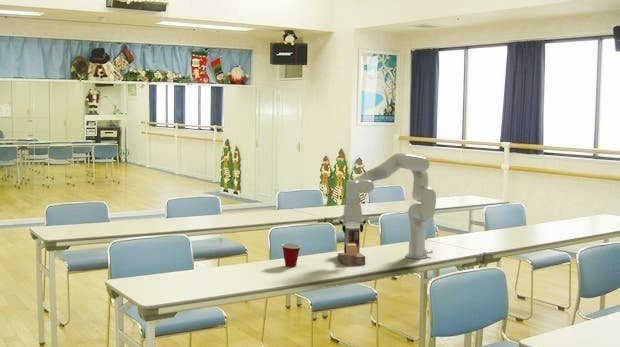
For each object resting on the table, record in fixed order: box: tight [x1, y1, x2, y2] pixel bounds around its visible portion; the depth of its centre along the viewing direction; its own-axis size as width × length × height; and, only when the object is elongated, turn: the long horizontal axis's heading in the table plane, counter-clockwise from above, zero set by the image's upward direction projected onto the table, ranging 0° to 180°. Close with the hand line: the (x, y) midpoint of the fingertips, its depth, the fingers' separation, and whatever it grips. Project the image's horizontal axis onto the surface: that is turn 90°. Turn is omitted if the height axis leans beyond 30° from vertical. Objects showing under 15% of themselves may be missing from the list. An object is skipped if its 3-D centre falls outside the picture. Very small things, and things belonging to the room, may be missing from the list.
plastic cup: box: [281, 242, 302, 268], centre depth 373 cm, size 11×11×12 cm
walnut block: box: [337, 251, 366, 267], centre depth 383 cm, size 12×12×5 cm
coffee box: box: [343, 227, 361, 253], centre depth 401 cm, size 9×6×16 cm
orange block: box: [346, 244, 357, 256], centre depth 382 cm, size 5×5×6 cm
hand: (352, 232), depth 382 cm, fingers open, 9 cm apart
